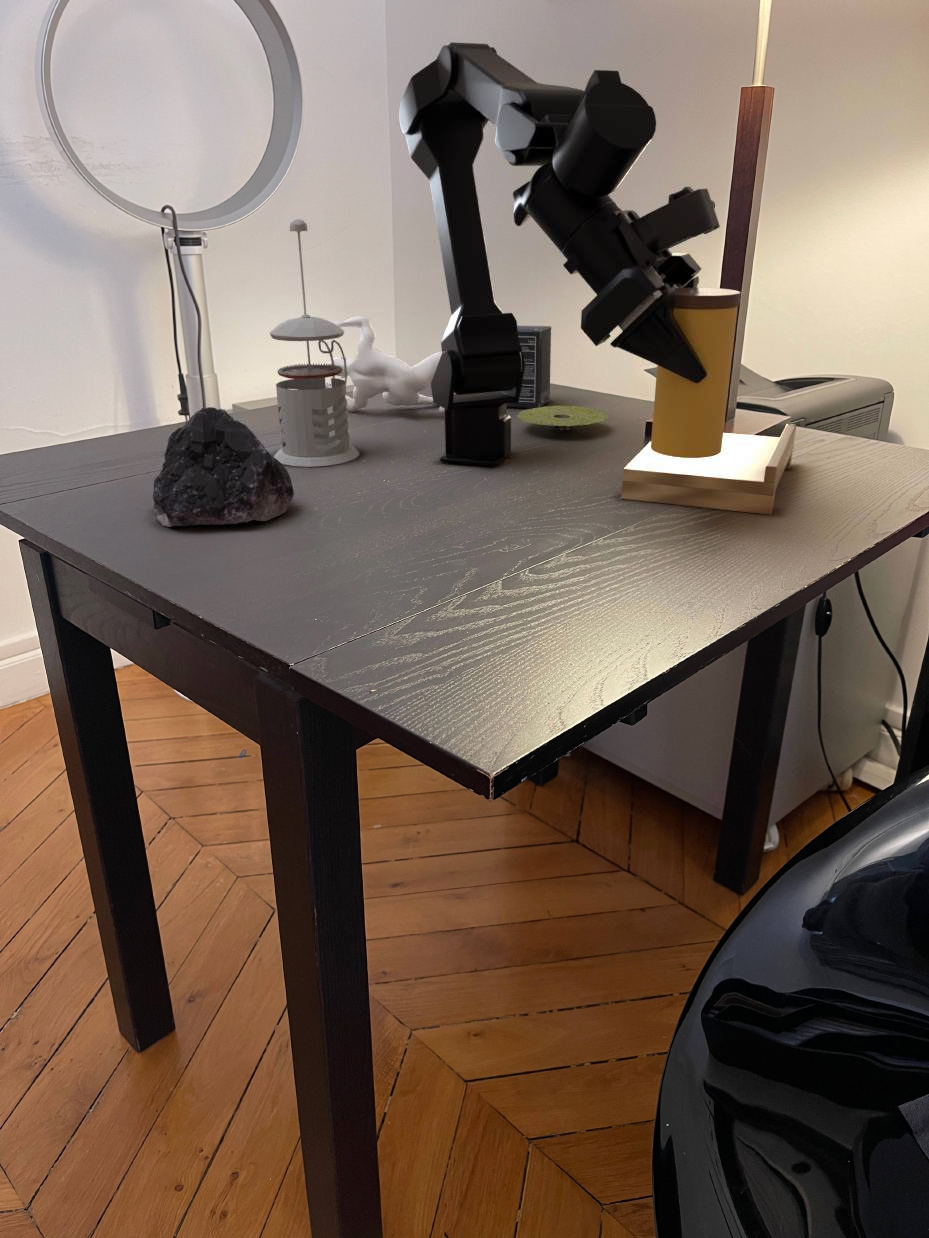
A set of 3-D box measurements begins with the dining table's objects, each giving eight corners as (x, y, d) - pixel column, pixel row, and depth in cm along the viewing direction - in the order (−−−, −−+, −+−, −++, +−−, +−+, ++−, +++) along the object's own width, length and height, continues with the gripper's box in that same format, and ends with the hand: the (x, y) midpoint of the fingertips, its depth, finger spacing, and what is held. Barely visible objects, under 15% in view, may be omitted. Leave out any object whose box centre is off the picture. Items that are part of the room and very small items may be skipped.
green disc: (621, 426, 118) (622, 410, 117) (582, 445, 110) (583, 428, 109) (543, 416, 124) (543, 402, 123) (500, 434, 115) (500, 418, 114)
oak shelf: (621, 498, 90) (623, 453, 88) (661, 454, 105) (664, 414, 103) (771, 515, 85) (777, 467, 83) (790, 465, 100) (796, 424, 98)
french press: (256, 462, 104) (230, 220, 94) (309, 439, 114) (291, 217, 104) (333, 470, 101) (314, 220, 91) (381, 445, 111) (369, 217, 100)
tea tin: (676, 462, 77) (692, 297, 72) (635, 444, 82) (647, 289, 77) (737, 453, 79) (757, 293, 74) (693, 437, 84) (709, 286, 79)
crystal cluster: (243, 548, 81) (244, 434, 77) (114, 520, 85) (109, 410, 81) (317, 514, 93) (320, 414, 89) (200, 491, 96) (199, 394, 93)
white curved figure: (459, 323, 128) (330, 305, 122) (484, 358, 119) (345, 340, 113) (439, 411, 135) (317, 398, 129) (462, 450, 126) (330, 438, 120)
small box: (551, 400, 133) (553, 324, 129) (540, 410, 128) (541, 330, 123) (481, 397, 136) (481, 322, 132) (467, 405, 131) (466, 328, 126)
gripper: (632, 146, 64) (776, 318, 65) (686, 152, 80) (802, 291, 81) (523, 264, 71) (656, 420, 71) (593, 249, 86) (701, 377, 87)
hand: (709, 372), depth 77 cm, fingers closed on tea tin, 6 cm apart
